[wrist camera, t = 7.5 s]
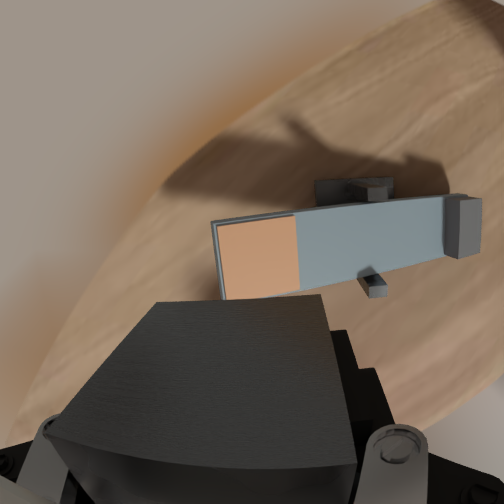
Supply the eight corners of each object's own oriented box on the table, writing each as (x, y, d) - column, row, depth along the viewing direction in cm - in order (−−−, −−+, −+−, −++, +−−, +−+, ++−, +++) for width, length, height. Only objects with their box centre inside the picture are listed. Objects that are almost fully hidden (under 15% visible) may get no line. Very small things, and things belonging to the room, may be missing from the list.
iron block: (320, 294, 9) (357, 462, 3) (320, 418, 10) (329, 564, 5) (157, 302, 10) (44, 432, 4) (187, 418, 11) (137, 548, 5)
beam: (457, 193, 29) (481, 196, 26) (456, 247, 30) (479, 254, 27) (210, 221, 23) (217, 228, 20) (220, 298, 24) (229, 317, 21)
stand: (389, 176, 30) (423, 181, 22) (391, 266, 32) (421, 296, 24) (314, 180, 31) (325, 184, 23) (319, 273, 33) (330, 306, 25)
